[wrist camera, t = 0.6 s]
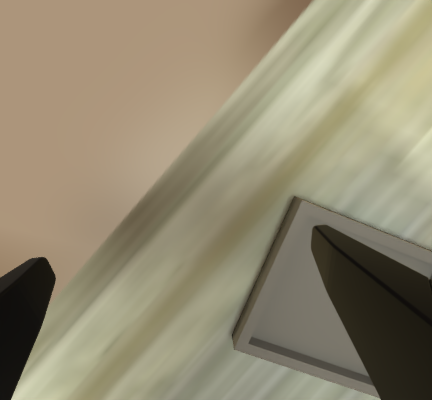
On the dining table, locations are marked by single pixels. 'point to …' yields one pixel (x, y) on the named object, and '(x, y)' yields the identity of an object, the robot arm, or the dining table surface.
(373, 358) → the robot arm
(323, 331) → the tray
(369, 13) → the dining table surface
